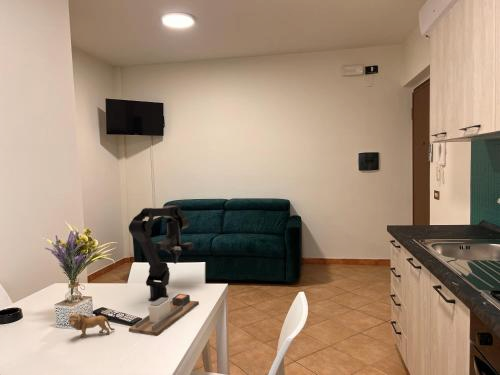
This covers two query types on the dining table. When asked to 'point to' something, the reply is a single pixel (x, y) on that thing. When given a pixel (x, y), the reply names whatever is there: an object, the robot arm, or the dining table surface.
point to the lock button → (181, 296)
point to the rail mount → (177, 311)
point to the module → (159, 309)
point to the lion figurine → (88, 323)
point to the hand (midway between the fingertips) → (175, 263)
